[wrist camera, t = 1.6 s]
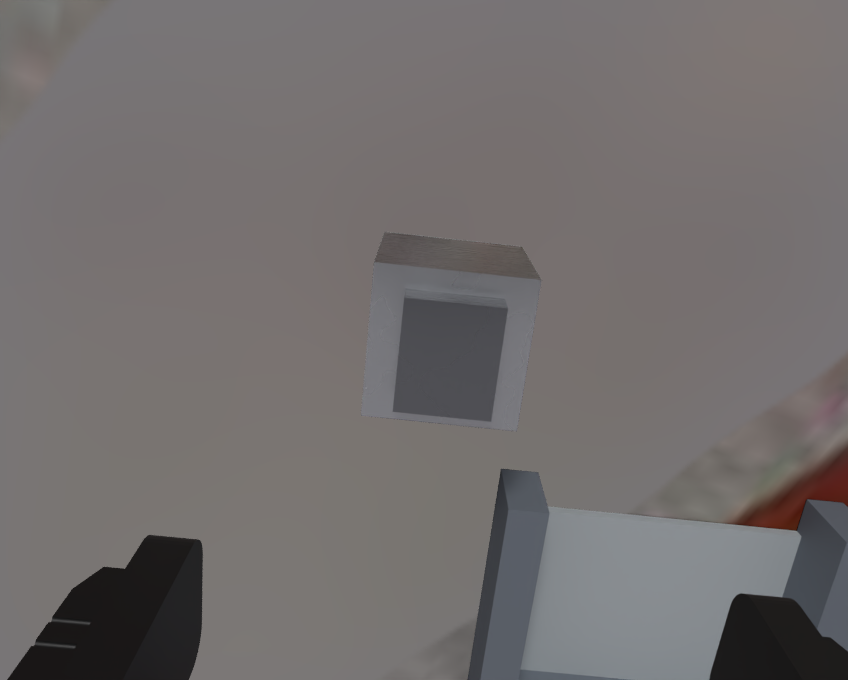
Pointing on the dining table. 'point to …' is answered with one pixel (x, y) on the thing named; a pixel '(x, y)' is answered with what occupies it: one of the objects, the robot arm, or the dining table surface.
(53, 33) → the dining table surface
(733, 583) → the chassis bay
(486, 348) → the grey recessed-face cube
